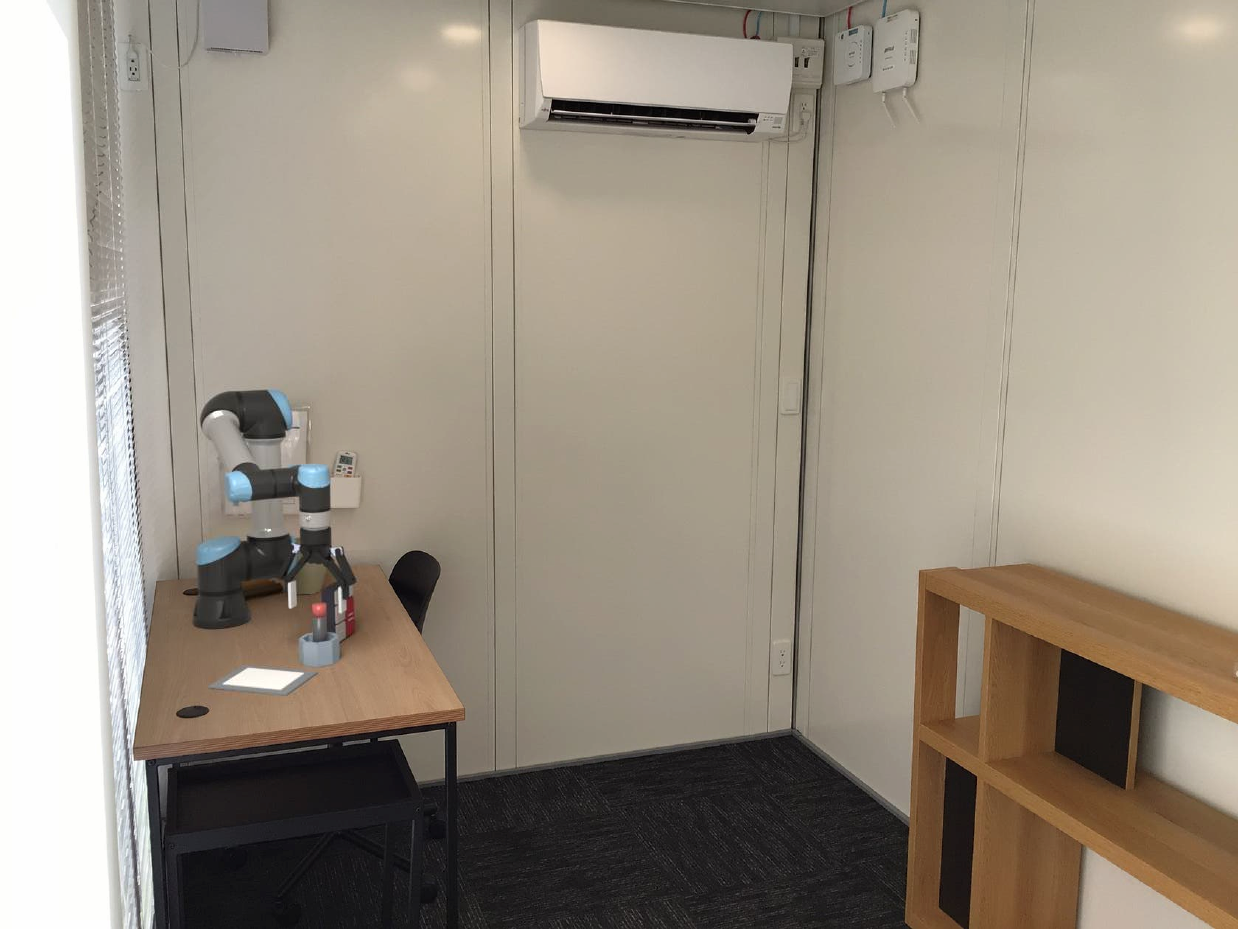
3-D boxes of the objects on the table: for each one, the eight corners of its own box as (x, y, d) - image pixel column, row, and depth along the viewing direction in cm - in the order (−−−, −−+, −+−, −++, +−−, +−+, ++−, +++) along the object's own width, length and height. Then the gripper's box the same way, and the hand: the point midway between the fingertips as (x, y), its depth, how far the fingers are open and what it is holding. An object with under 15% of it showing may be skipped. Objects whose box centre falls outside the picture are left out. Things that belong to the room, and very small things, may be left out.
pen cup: (294, 664, 258) (293, 641, 257) (311, 653, 267) (311, 630, 266) (327, 668, 256) (327, 644, 255) (344, 656, 265) (343, 633, 264)
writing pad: (208, 688, 242) (208, 685, 242) (243, 666, 256) (243, 664, 256) (286, 695, 238) (286, 693, 238) (318, 673, 252) (317, 671, 252)
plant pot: (316, 600, 313) (314, 549, 310) (273, 595, 317) (271, 545, 314) (342, 587, 327) (341, 538, 325) (301, 583, 331) (299, 534, 329)
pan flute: (205, 610, 303) (283, 594, 321) (204, 599, 302) (283, 583, 320) (168, 593, 319) (244, 578, 338) (167, 583, 319) (243, 568, 337)
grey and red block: (337, 645, 273) (336, 590, 270) (322, 644, 273) (321, 589, 271) (356, 632, 283) (355, 579, 281) (341, 631, 284) (340, 578, 282)
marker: (310, 659, 260) (309, 605, 258) (317, 655, 263) (316, 601, 261) (322, 660, 259) (321, 606, 257) (329, 656, 262) (328, 603, 260)
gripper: (261, 526, 255) (264, 609, 258) (355, 533, 250) (357, 618, 253) (277, 520, 262) (279, 600, 266) (369, 527, 257) (370, 609, 261)
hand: (317, 609), depth 260 cm, fingers open, 13 cm apart
